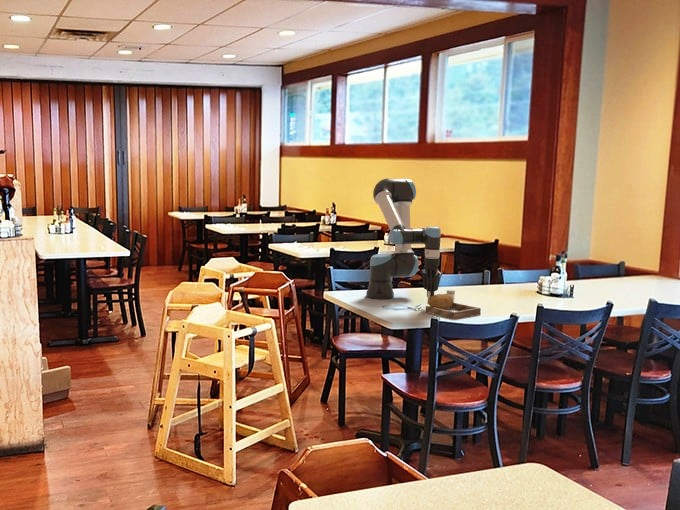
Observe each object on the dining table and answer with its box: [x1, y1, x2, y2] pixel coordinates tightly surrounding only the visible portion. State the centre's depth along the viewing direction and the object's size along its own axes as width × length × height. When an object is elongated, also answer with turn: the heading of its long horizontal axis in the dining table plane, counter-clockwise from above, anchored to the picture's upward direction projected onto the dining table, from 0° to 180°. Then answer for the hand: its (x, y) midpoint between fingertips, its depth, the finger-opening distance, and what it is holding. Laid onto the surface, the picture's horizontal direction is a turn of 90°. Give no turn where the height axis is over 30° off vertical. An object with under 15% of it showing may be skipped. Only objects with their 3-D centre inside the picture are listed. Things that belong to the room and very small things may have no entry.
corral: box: [425, 301, 482, 320], centre depth 346 cm, size 19×19×3 cm
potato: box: [427, 293, 453, 310], centre depth 352 cm, size 10×14×8 cm
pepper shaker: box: [446, 289, 456, 303], centre depth 362 cm, size 4×4×8 cm
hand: (430, 303), depth 357 cm, fingers closed
